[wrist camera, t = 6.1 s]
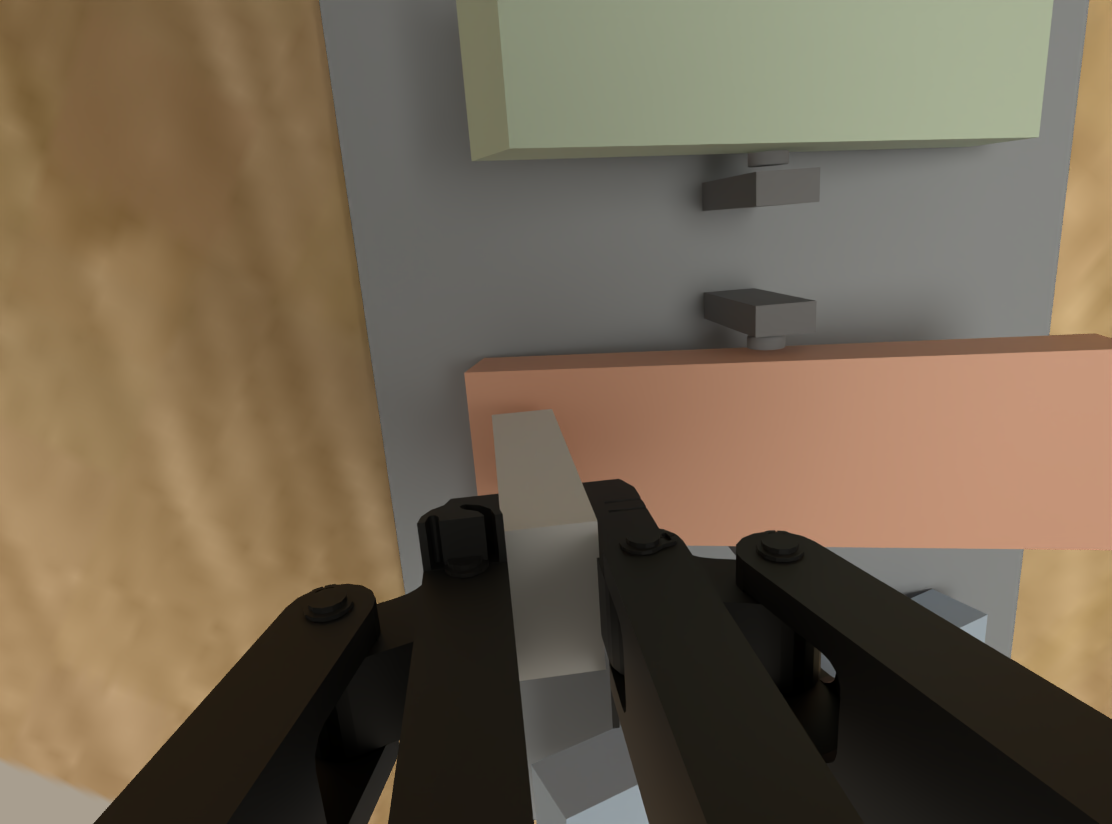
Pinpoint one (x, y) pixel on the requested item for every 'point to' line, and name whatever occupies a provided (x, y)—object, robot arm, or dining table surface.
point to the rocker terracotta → (835, 437)
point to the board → (666, 274)
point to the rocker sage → (748, 76)
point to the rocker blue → (606, 769)
